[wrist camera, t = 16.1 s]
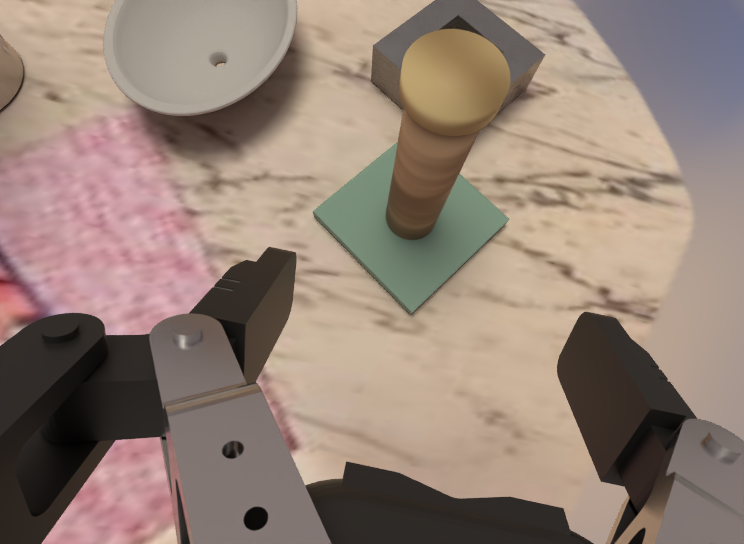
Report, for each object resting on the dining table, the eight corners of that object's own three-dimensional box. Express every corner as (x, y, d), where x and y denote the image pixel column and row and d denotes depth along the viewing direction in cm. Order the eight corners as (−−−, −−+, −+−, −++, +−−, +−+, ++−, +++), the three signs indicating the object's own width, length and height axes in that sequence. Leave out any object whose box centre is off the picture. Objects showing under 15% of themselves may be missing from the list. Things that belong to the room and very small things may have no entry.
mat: (410, 315, 32) (412, 312, 31) (314, 216, 34) (312, 211, 33) (505, 224, 34) (509, 219, 33) (410, 137, 36) (411, 130, 35)
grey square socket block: (451, 153, 36) (462, 124, 32) (371, 81, 38) (373, 45, 34) (526, 89, 38) (545, 54, 34) (447, 23, 40) (456, -16, 36)
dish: (267, 171, 35) (252, 134, 30) (103, 129, 35) (63, 87, 30) (326, 12, 40) (322, -40, 35) (182, -22, 40) (159, -78, 35)
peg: (410, 256, 32) (458, 139, 17) (367, 214, 33) (378, 68, 18) (453, 217, 33) (532, 76, 18) (410, 177, 34) (453, 11, 19)
